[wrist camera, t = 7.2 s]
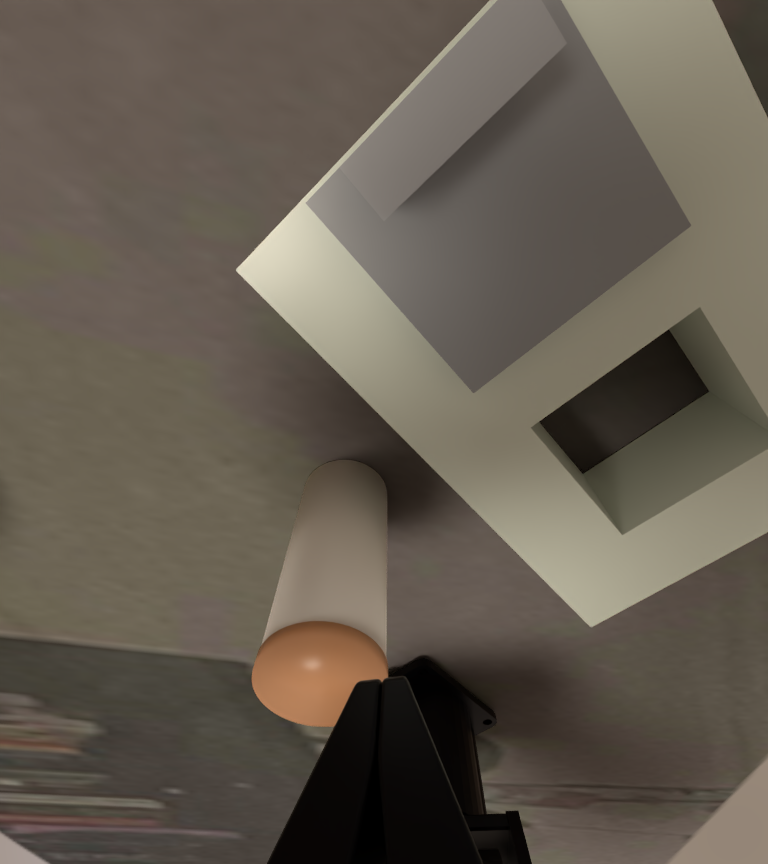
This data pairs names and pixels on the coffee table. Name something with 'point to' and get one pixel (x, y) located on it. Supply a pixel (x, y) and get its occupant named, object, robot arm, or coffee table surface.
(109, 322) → the coffee table surface
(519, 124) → the shutter
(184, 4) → the coffee table surface
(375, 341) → the socket block
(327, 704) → the plug
